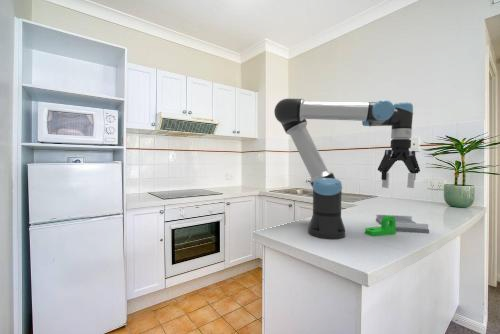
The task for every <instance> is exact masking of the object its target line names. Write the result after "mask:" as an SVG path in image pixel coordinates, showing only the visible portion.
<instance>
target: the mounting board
mask: <svg viewBox="0 0 500 334" xmlns="http://www.w3.org/2000/svg"><path fill="white" fill-rule="evenodd" d="M375 221H376V222H377V224H379V225H381V222H382V219H377V218H375ZM395 221H396V222H398V223H416V222H415V221H413V220H412V221H410V220H395ZM395 232H401V233H403V232H406V233H421V234H423V233H424V234H430V229H429V228H428V229H415V228H397V227H396V229H395Z"/></svg>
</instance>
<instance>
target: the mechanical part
mask: <svg viewBox="0 0 500 334" xmlns="http://www.w3.org/2000/svg"><path fill="white" fill-rule="evenodd" d="M385 215H386V216H384V217H383V218H382V222H381V224H380V226H370V227H365V228H364V234H366V235H368V236H370V237H380V236H389V235H390V236H391V235H396V231H395V229H396V221H395V219H394V217H391V216H388V215H389V214H385ZM388 222H389V224H388Z"/></svg>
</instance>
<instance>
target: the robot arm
mask: <svg viewBox="0 0 500 334" xmlns="http://www.w3.org/2000/svg"><path fill="white" fill-rule="evenodd" d="M413 115H414V106H413V103H412V102H407V101H406V102H396V103H393V102H391V101H390V100H387V99H381V100H378V101H372V102H371V101H370V102H367V101H309V100H308V101H307V100H305V99H304V98H284V99H281V100H279V101H278V102H277V104H276V105H275V107H274V117H275V119H276V120H277V121H278V122H279V123H280V124H281V126H282V127H283V130H284V132H285V134H286V135H290V137H291V139H292V141H293V143H294V145H295V147H296V150H297V152H298V153H299V156H300V158H301V160H302V162H303V164H304V166H305V168H306V170H307V172H308V174H309V176H310V181H309V183H310V185H311V187H312V215H311V219H310V222H309V224H308V233H309V234H310V235H311V236H312V237H313V236H314V237H316V238H320V239H329V240H330V239H331V240H333V239H334V240H335V239H342V238H344V237H346V228H345V224H344V222H343V217H342V193H343V192H342V191H343V186H342V185H343V184H342V181H341V180H339V179H337V178H336V176H335V174H334V173H333V171H330V170H328V168H327V166H326V164H325V162H324V160H323V159H322V157H321V154H320V152H319V150H318V148H317V146H316V144H315V142H314V141H313V138H312V136H311V134H310V132H309V130H308V129H307V125H308V121H307V120H322V121H323V120H327V121H330V120H331V121H352V122H353V121H355V122H357V121H360V122H361V125H362V126H363V127H391V130H390V131H391V133H390V139H391V140H390V148H391V149H385V151H384V155H383V157H382V159H381V161H380V164H379V166H378V167H377V171H379V172H380V173H381V176H380V177H381V181H382V182H381V188H385V189H389V185H390V184H389V183H390V181H389V180H390V172H389V170H390V169H392V167H393V165H394V164H395V163H396V162H400V161H402V162H403V164H404V165H405V167H406V168H407V170H408V171H409V172H408V173H407V186H406V187H407V188H409V189H415V181H416V177H417V176H416V174H418V173H419V172H421V169H420V165H419V162H418V159H417V157H416V150H410V149H411V147H412V130H413Z"/></svg>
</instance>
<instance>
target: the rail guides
mask: <svg viewBox="0 0 500 334" xmlns="http://www.w3.org/2000/svg"><path fill="white" fill-rule="evenodd" d="M386 215H388V216H391V217H394V219H395V220H410V221H413V216H411V215H394V214H376V218H377V219H382V218H383V217H384V216H386ZM376 218H375V219H376ZM388 224H389V222H388ZM396 227H397V228H415V229H429V224H428V223H417V222H415V223H398V222H396Z"/></svg>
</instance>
